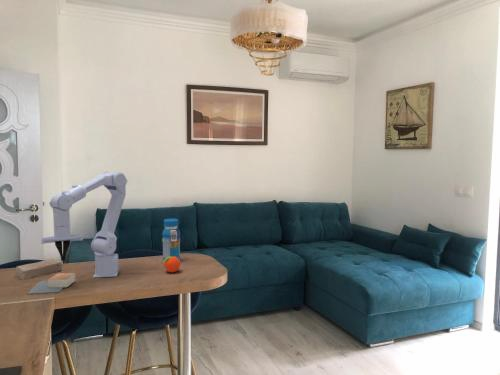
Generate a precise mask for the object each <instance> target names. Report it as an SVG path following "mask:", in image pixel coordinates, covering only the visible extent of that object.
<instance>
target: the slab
mask: <svg viewBox="0 0 500 375" xmlns="http://www.w3.org/2000/svg"><path fill="white" fill-rule="evenodd" d="M47 280H48V286H49V287H63V288H67V287H69V286H70V285H72V284H73V283H75V282H76V273H75V272H74V273H73V272H70V273H68V272H66V273H63V272H62V273H60V272H58V273H55V275H53V276H51V277H50V278H48V279H47Z"/></svg>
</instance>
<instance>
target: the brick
mask: <svg viewBox="0 0 500 375" xmlns="http://www.w3.org/2000/svg"><path fill="white" fill-rule="evenodd" d="M62 267H63V264H62V261H61V260H58V259H54V258H49V259H45V260H44V259H43V260H41V261H37V262H33V263H27V264H21V265H18V266H15V271H14V272H15V277H17V278H19V279H20V280H28V279H32V278H36V277H40V276H45V275H50V274H53V273H54V274H56V273H57V272H60V271H62V269H63V268H62Z"/></svg>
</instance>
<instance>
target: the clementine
mask: <svg viewBox="0 0 500 375" xmlns="http://www.w3.org/2000/svg"><path fill="white" fill-rule="evenodd" d="M164 261H165V262H164ZM164 261H163V263H162V264H163V266H164V269H165V271H166V272H168V273H175V272H177V271H178V270H179V269H180V267H181V261H180V260H179V259H178V258H177V257H175V256H170V257H167V258H166V259H165V260H164Z"/></svg>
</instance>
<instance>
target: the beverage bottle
mask: <svg viewBox="0 0 500 375" xmlns="http://www.w3.org/2000/svg"><path fill="white" fill-rule="evenodd" d="M163 227H164V229H163V231H162V234H161V235H162V239H161V242H162V261H163V262H165V261H164V260H165V259H166V258H167V257H170V256H175V257H177V258H178V259H179V261H180V260H181V254H180V253H181V248H180V246H181V245H180V243H181V237H180V235H181V233H180V229H179V219H178V218H164V219H163Z"/></svg>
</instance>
